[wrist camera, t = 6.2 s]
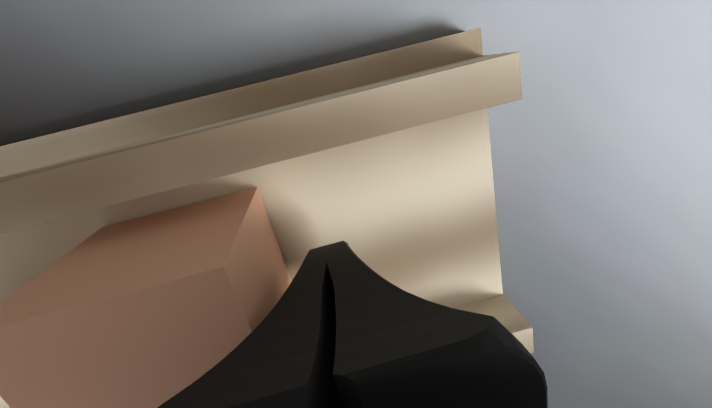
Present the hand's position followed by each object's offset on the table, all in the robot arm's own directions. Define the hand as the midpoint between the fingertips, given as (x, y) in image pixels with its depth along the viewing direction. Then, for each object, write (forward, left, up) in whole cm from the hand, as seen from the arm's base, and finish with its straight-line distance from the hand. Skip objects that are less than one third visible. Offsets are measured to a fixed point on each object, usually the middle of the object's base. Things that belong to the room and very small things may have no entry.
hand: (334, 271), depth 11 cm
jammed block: (0, +4, -1) cm, 4 cm away
